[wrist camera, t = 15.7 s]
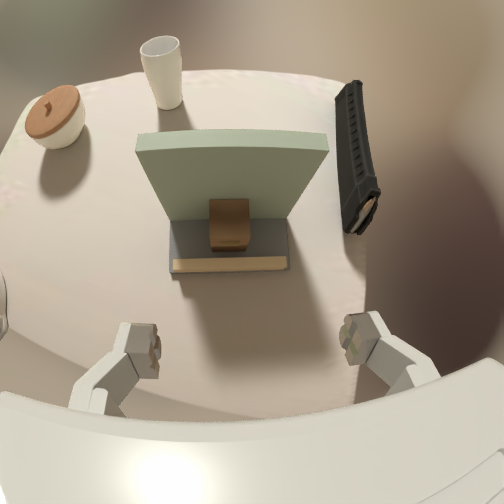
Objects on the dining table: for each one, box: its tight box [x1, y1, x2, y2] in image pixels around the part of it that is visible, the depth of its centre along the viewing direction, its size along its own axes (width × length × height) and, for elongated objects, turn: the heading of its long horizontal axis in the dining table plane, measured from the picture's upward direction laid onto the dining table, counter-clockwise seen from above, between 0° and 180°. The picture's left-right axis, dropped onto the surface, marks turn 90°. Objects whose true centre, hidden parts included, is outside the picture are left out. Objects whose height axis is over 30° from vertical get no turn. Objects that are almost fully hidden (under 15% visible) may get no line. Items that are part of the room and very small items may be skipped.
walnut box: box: [209, 199, 251, 252], centre depth 39 cm, size 6×5×8 cm
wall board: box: [135, 129, 329, 273], centre depth 33 cm, size 10×18×21 cm, turn 93°
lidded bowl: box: [25, 85, 85, 149], centre depth 40 cm, size 13×13×11 cm
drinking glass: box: [140, 36, 183, 110], centre depth 41 cm, size 7×7×15 cm
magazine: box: [335, 80, 381, 235], centre depth 44 cm, size 17×3×30 cm
